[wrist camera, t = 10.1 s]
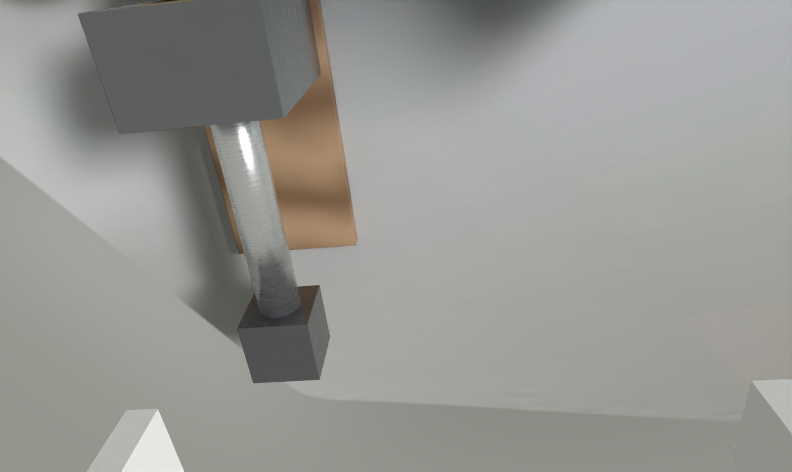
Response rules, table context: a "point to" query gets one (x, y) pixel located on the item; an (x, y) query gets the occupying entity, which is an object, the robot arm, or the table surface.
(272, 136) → the walnut board
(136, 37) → the block
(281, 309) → the shaft
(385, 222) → the table surface
